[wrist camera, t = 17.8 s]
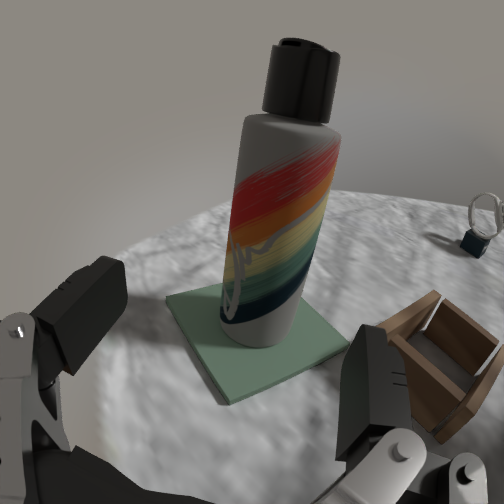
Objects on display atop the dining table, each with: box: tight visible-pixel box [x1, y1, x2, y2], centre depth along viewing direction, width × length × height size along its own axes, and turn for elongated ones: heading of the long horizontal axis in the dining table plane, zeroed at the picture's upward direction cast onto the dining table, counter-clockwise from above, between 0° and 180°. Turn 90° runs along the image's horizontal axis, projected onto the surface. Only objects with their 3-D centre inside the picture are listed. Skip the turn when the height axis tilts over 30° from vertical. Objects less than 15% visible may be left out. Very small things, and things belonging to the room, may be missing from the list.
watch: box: [460, 193, 504, 259], centre depth 44 cm, size 6×8×11 cm
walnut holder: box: [375, 290, 504, 444], centre depth 21 cm, size 10×10×4 cm
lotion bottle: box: [220, 38, 341, 348], centre depth 19 cm, size 6×6×20 cm
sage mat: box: [166, 283, 350, 405], centre depth 25 cm, size 11×11×1 cm
